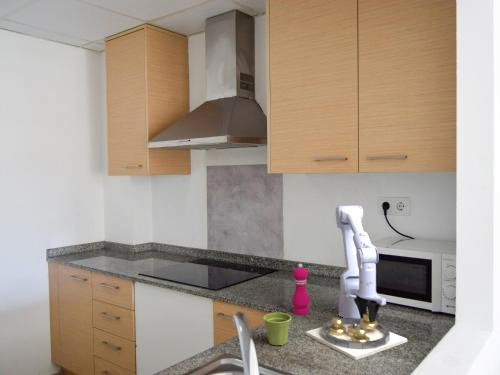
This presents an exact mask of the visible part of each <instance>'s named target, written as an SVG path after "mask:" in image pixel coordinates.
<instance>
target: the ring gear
mask: <svg viewBox="0 0 500 375" xmlns="http://www.w3.org/2000/svg"><path fill="white" fill-rule="evenodd" d="M340 318H341V319H342V325H345V324H353V323H357V325H360V320H362V319H361V318H342V317H340ZM377 323H378V327H377V328H376V329H377V330H379V331H381V332H382V333H383V334H384V336H383V337H382V338H380V339H377V340H374V341H364V342H359V341H348V340H344V339H340V338H336V337H334V336H332V335H330V334H329V333H328V332H327V331H326V330H328V329H329V326H331V325H332V319H330V320H327V321H326V322H325V323H323V324H322V326H321V327H322V336H323V337H324V339H325V340H326V341H328V342H330V343H332V344H334V345H337V346H341V347H345V348H350V349H373V348H378V347H381V346H384V345H386V344H387V343H388V342H389V341H390V333H389V332H390V330H389V328H388V327H386V326H385V325H383V323H379V322H377Z"/></svg>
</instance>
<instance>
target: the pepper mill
mask: <svg viewBox="0 0 500 375" xmlns="http://www.w3.org/2000/svg"><path fill="white" fill-rule="evenodd" d="M308 275H309V273H308V270H307V268H305V267H303V264H302V263H299V264H298V265H297V267H296V268H294V269H293V271H292V277H293V278H294V280H293V281H294V284H295V288H294V289H295V290H294V293H293V296H292V297H291V298H292V299H291V304H292V305H293V307H292V311H293V314H296V315H301V316H302V315H308V314H309V312H308V311H309V310H310V309H309V307H308V306H310V304H311V302H310V298H309V294H308V292H307V289H306V285H307V283H308V282H307V277H308Z"/></svg>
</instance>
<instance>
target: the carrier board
mask: <svg viewBox="0 0 500 375" xmlns="http://www.w3.org/2000/svg"><path fill="white" fill-rule="evenodd" d="M351 325H353V324H345V325H342V326H344V327H346V334H344V335H339V336H338V335H332V334H330V333H329V329H328V330H326V331H327V332H328V333H329V334H330V335H332V336H334V337H336V338H340V339H344V340H348V341H351V337H349V336H348V326H351ZM357 326H360V325H357ZM389 333H390V341H389V342H388V343H387V344H386V345H384V346H381V347H378V348H373V349H350V348H345V347H341V346H337V345H334V344H332V343H330V342H328V341H326V340H325V339H324V337H323V336H322V326H321V327H317V328H315V329H310V330H307V331H305V335H306V336H308V337H310V338H312V339H314V340H316V341H318V342H319V343H321V344H323V345H325V346H327V347H329V348H331V349H332V350H336V352H337V351H338V352H339V353H341V354H343V355H345V356H347V357H349V358H351V359H353V360H355V361H357V360H360V359H364V358H366V357H368V356H369V357H370V356H372V355H375V354H377V353H380V352H382V351H385V350H388V349H391V348H394V347H396V346H399V345H402V344H405V343H408V338H406V337H404V336H401V335H399V334H396V333H394V332H392V331H389ZM366 336H368V337H369V338H370V341H374V340H377V339H380V338H382V337H383V336H384V334H383V333H382V332H381V331H379V330H377V329H371V330H368V329H366Z"/></svg>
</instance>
